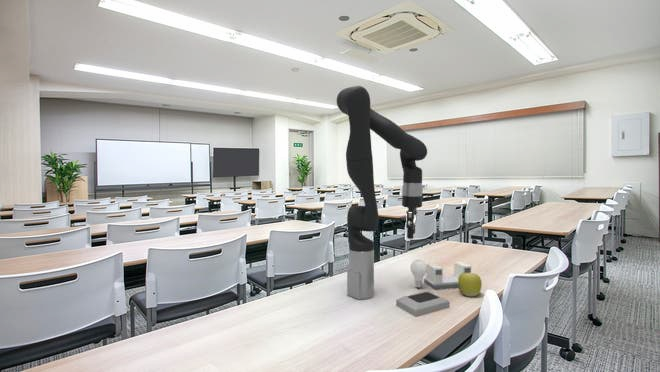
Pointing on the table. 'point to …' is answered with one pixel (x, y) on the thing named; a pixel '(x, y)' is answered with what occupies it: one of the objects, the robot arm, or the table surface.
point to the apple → (469, 284)
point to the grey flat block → (422, 303)
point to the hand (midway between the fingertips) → (411, 235)
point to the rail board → (444, 283)
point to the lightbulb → (418, 271)
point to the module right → (461, 268)
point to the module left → (434, 273)
